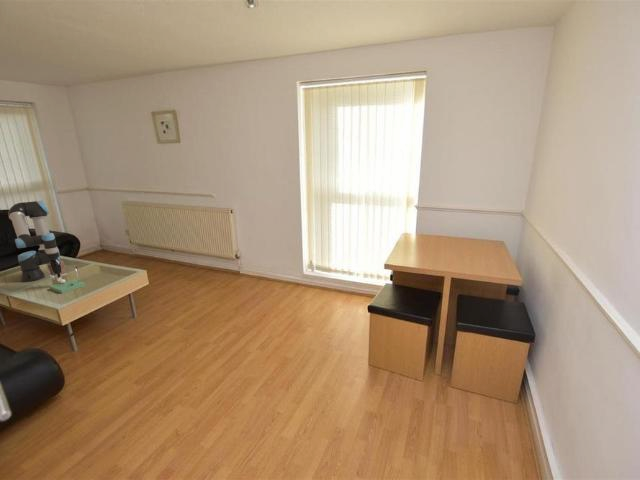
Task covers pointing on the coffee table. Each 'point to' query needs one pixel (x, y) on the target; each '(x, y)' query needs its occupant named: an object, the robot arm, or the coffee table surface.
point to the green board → (67, 286)
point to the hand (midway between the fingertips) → (59, 280)
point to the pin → (76, 272)
